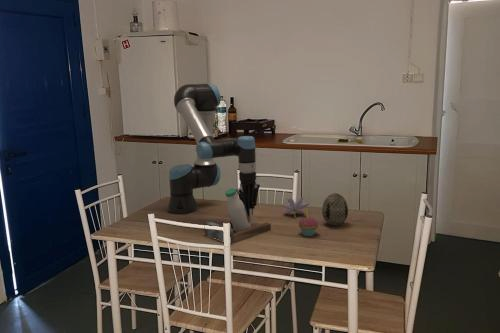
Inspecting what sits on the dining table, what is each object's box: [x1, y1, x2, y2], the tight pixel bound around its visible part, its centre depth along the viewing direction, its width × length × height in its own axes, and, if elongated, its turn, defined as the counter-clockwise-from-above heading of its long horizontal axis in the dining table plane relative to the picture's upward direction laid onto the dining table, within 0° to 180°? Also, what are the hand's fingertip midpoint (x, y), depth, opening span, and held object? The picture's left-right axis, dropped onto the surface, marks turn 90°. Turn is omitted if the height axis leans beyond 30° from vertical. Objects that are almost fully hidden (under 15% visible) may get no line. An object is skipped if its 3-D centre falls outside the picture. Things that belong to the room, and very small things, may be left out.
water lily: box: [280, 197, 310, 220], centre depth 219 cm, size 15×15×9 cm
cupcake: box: [298, 206, 320, 237], centre depth 194 cm, size 9×8×12 cm
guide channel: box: [204, 220, 272, 245], centre depth 199 cm, size 16×25×6 cm, turn 134°
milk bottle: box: [225, 187, 252, 233], centre depth 196 cm, size 8×8×20 cm
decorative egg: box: [321, 192, 349, 227], centre depth 206 cm, size 12×12×15 cm
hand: (249, 222), depth 203 cm, fingers closed
